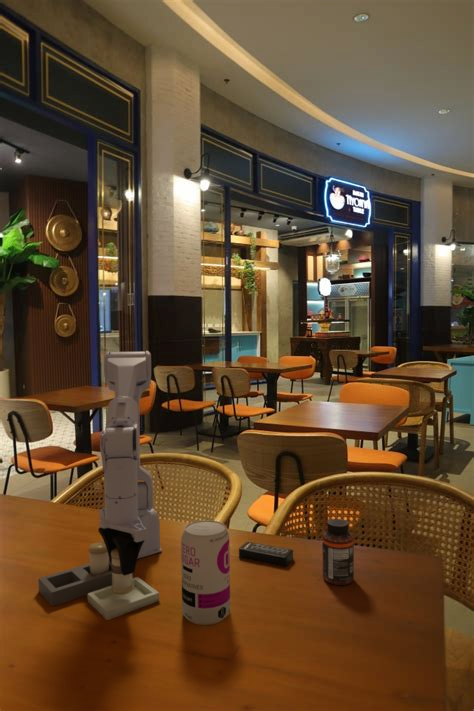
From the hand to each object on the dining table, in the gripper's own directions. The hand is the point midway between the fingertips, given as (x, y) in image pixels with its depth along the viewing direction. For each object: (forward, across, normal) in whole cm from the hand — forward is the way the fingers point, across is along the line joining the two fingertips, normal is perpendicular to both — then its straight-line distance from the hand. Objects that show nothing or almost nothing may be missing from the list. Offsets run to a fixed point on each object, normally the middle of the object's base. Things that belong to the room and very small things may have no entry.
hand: (122, 569), depth 95 cm
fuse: (+6, -10, 0) cm, 12 cm away
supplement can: (+6, +13, +9) cm, 17 cm away
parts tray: (+6, 0, 0) cm, 6 cm away
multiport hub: (+6, +3, +32) cm, 33 cm away
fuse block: (+6, -10, -4) cm, 12 cm away
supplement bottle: (+6, +19, +36) cm, 41 cm away
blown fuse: (+4, 0, 0) cm, 4 cm away
